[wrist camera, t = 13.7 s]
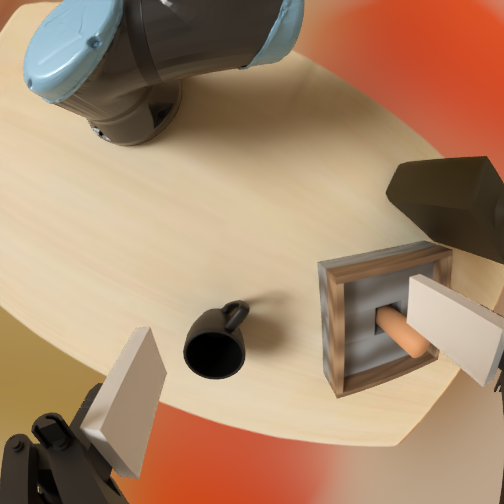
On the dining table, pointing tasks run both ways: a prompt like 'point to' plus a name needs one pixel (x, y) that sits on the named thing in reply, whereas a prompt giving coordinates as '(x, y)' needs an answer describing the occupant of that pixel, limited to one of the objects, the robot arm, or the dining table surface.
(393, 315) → the peg
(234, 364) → the mug
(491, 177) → the bottle
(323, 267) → the crate
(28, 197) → the dining table surface
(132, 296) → the dining table surface
